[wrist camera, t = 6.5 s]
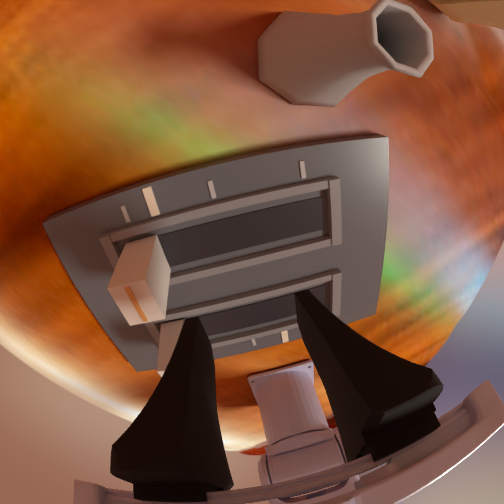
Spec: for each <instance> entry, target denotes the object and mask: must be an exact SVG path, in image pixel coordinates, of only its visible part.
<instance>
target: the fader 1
mask: <svg viewBox="0 0 504 504" xmlns="http://www.w3.org/2000/svg"><path fill="white" fill-rule="evenodd" d="M170 273H171V269H170V267H169V264H168V262H167V259H166V257H165V254H164V252H163V249H162V247H161V244H160V242H159V239H158V237H157V235H153V236H150V237H146V238H143V239H139V240H136V241H132V242H129V243H126V244H125V246H124V249H123V251H122V253H121V255H120V258H119V260H118V263H117V265H116V267H115V270H114V272H113V275H112V277H111V280H110V283H109V285H108V288H107V289H108V291H109V292H110V294H111V296H112V298H113V299H114V301H115V303H116V304H117V306H118V307H119V309H120V311H121V312H122V314H123V315H124V317H125V319H126V320H127V322H128V323H129V325H130V326H132V325H137V324H142V323H147V322H152V321H157V320H162V319H165V317H166V307H167V298H168V289H169V281H170Z"/></svg>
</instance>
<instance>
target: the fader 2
mask: <svg viewBox="0 0 504 504" xmlns="http://www.w3.org/2000/svg"><path fill="white" fill-rule="evenodd" d="M184 320H185V319H182V320H177V321H173V322H168V323H163V324H161V330H160V340H159V352H158V365H157V372H158V374H159V375H160V376H161V377H162V376H163V374H164V371H165V369H166V367H167V365H168V363H169V361H170V358H171V356H172V353H173V351H174V348H175V346H176V343H177V340H178V338H179V335H180V332H181V329H182V326H183V323H184Z"/></svg>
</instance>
